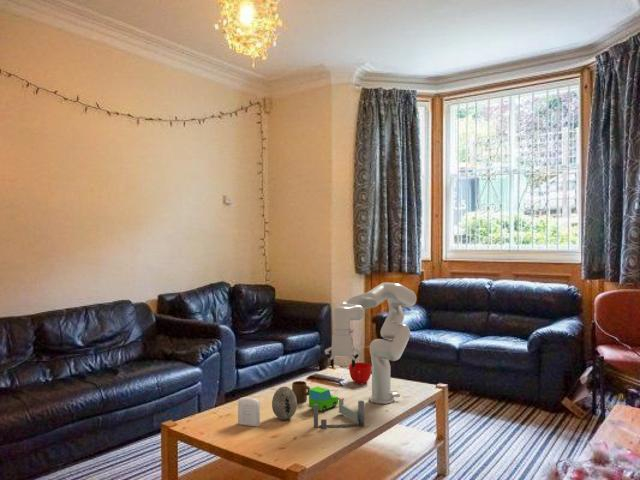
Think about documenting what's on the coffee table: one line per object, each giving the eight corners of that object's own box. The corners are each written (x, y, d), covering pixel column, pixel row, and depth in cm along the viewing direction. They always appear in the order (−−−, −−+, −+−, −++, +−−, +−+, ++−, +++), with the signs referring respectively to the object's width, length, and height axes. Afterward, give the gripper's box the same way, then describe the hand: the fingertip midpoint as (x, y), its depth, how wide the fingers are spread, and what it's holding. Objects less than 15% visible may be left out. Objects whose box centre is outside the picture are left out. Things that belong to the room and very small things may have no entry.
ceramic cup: (347, 387, 280) (347, 369, 280) (350, 378, 297) (350, 362, 297) (370, 388, 278) (370, 370, 278) (372, 379, 295) (372, 362, 295)
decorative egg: (276, 425, 226) (275, 392, 226) (269, 416, 237) (268, 385, 237) (300, 421, 230) (300, 388, 230) (292, 412, 241) (292, 382, 241)
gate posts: (364, 424, 225) (363, 400, 225) (365, 428, 221) (365, 403, 221) (313, 425, 224) (313, 401, 224) (313, 429, 220) (313, 404, 220)
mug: (315, 403, 255) (315, 384, 255) (304, 406, 250) (304, 388, 250) (300, 397, 264) (299, 380, 264) (289, 401, 259) (289, 383, 258)
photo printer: (261, 423, 228) (260, 396, 228) (257, 427, 224) (257, 399, 224) (241, 421, 231) (240, 395, 231) (236, 425, 227) (236, 398, 227)
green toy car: (340, 406, 249) (340, 386, 249) (322, 413, 240) (322, 393, 240) (325, 402, 256) (325, 382, 256) (307, 409, 247) (307, 388, 247)
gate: (360, 421, 226) (360, 406, 226) (356, 422, 225) (356, 407, 225) (342, 411, 240) (341, 397, 240) (338, 412, 239) (338, 397, 239)
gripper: (360, 330, 241) (361, 366, 241) (325, 330, 243) (325, 365, 244) (359, 333, 234) (360, 370, 234) (323, 333, 236) (324, 369, 236)
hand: (342, 367), depth 239 cm, fingers open, 9 cm apart
